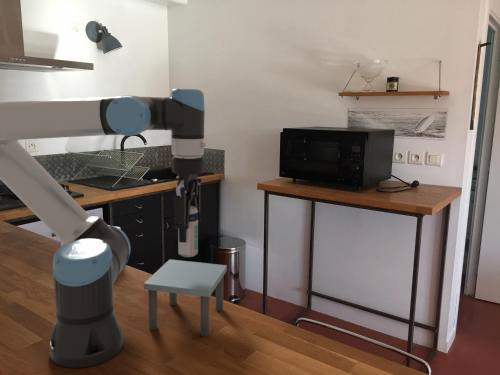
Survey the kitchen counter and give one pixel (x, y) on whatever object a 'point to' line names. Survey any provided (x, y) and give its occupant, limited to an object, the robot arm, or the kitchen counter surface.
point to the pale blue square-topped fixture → (187, 287)
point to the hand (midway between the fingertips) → (188, 250)
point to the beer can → (193, 232)
